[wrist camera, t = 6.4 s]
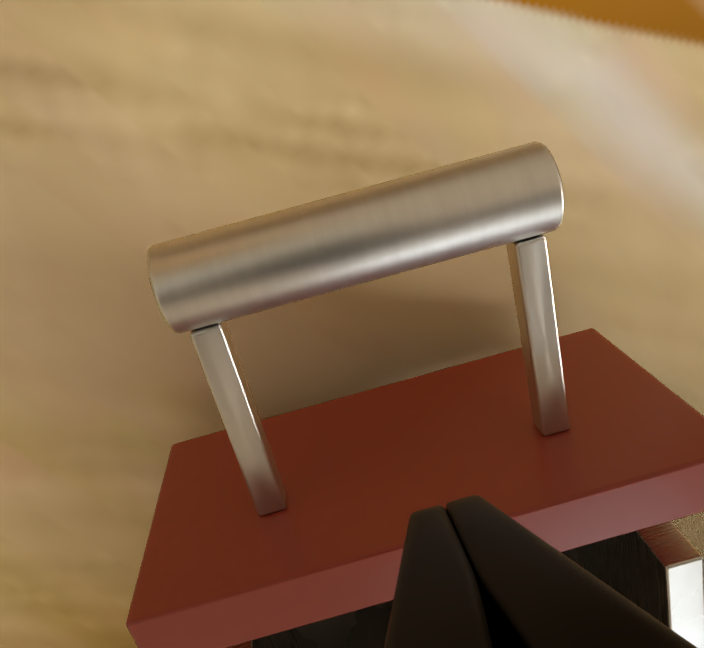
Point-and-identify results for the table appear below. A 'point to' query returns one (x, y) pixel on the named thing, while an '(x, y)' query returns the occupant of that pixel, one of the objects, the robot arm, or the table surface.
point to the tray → (406, 428)
